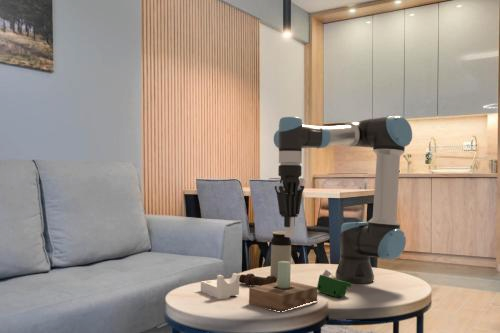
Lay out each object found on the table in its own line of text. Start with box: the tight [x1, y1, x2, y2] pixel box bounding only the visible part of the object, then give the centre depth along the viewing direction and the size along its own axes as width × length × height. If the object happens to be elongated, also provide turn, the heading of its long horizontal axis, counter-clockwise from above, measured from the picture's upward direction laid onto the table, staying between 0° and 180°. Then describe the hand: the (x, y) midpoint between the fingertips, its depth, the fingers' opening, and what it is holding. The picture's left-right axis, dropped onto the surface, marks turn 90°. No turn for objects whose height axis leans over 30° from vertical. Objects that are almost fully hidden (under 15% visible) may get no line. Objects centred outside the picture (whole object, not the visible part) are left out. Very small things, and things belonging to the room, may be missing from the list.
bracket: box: [200, 272, 240, 300], centre depth 163 cm, size 13×7×8 cm, turn 36°
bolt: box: [239, 272, 278, 287], centre depth 175 cm, size 6×5×15 cm
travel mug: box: [269, 231, 292, 280], centre depth 194 cm, size 8×8×18 cm
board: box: [248, 280, 318, 312], centre depth 152 cm, size 18×13×5 cm
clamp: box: [316, 274, 353, 298], centre depth 167 cm, size 12×6×9 cm, turn 21°
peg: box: [277, 261, 292, 290], centre depth 152 cm, size 4×4×12 cm
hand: (289, 236), depth 156 cm, fingers closed
